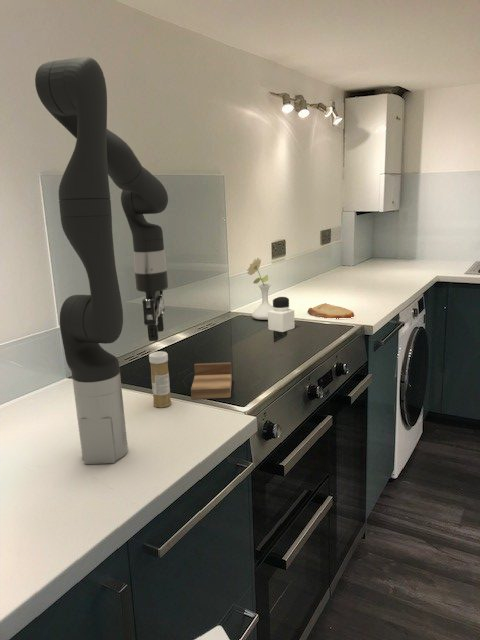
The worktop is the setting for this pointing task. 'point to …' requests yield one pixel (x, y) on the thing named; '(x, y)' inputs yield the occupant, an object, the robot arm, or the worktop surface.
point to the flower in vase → (265, 306)
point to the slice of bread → (330, 311)
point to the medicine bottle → (281, 315)
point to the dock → (212, 381)
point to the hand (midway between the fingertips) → (156, 335)
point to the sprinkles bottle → (160, 379)
